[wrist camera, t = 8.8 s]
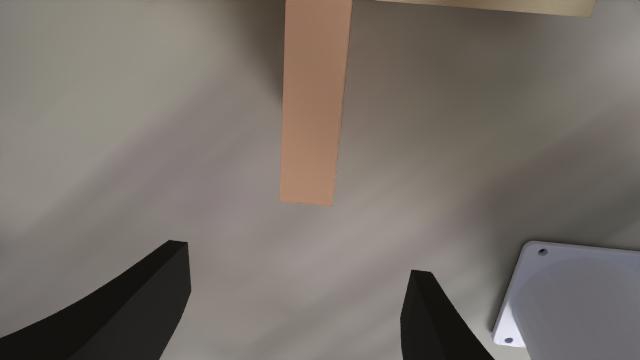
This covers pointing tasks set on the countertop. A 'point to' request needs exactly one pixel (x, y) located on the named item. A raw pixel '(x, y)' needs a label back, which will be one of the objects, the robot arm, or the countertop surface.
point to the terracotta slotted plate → (313, 97)
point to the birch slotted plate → (519, 5)
